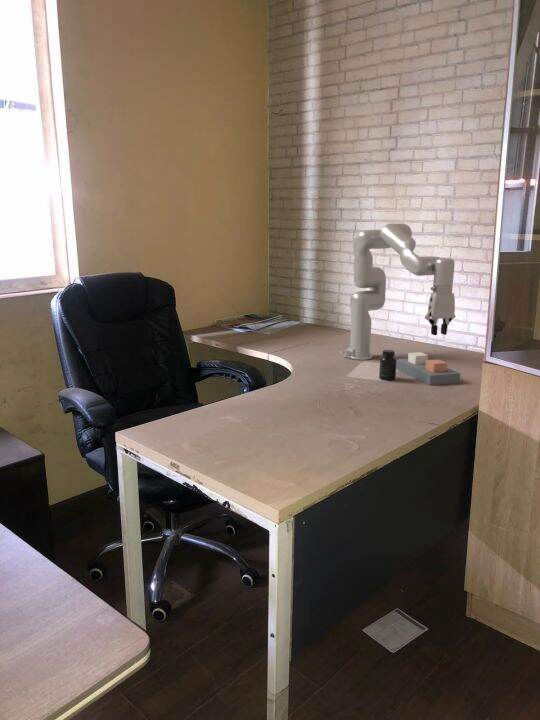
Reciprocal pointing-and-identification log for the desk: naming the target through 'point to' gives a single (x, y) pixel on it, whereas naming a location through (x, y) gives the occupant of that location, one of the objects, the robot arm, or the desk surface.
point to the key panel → (427, 373)
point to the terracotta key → (436, 366)
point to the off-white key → (417, 358)
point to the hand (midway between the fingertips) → (438, 333)
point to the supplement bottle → (388, 366)
